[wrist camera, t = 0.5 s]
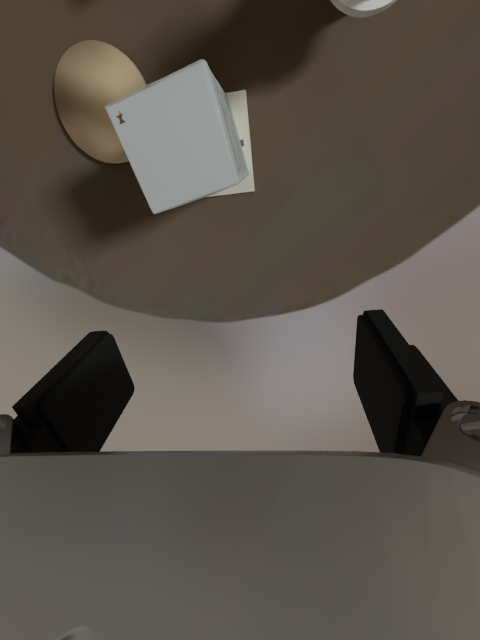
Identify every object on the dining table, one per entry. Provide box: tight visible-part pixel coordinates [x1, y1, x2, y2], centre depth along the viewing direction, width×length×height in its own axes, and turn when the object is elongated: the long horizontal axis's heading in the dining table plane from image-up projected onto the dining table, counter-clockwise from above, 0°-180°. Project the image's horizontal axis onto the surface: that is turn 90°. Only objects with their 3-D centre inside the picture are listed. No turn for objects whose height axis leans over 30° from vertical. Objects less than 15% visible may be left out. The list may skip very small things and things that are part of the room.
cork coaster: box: [54, 40, 147, 164], centre depth 29 cm, size 10×10×1 cm
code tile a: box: [207, 90, 255, 197], centre depth 30 cm, size 9×9×1 cm
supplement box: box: [104, 59, 249, 214], centre depth 25 cm, size 7×7×13 cm
